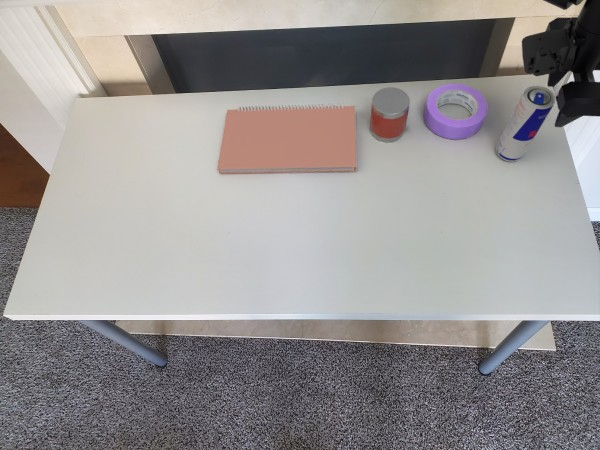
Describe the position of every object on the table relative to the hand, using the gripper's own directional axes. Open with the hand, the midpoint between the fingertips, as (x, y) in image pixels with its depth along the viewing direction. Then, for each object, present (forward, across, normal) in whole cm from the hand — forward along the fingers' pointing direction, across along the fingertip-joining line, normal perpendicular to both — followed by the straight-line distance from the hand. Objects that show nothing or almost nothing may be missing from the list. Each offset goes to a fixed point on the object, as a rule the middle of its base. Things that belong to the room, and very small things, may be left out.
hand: (554, 105), depth 74 cm
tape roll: (+13, -8, -14) cm, 20 cm away
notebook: (+12, 0, -46) cm, 48 cm away
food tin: (+12, -4, -27) cm, 30 cm away
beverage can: (+13, 0, -4) cm, 13 cm away
